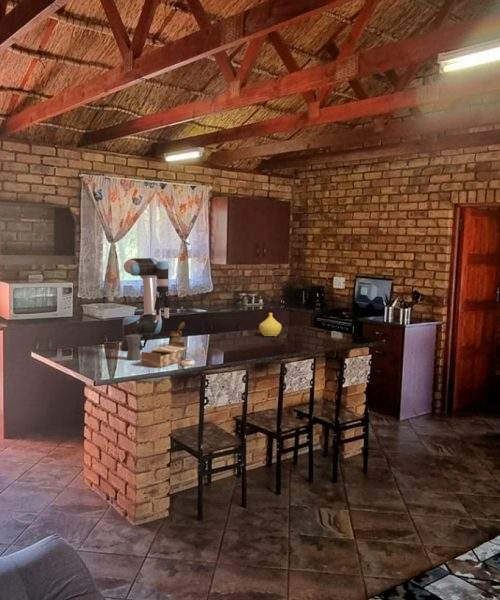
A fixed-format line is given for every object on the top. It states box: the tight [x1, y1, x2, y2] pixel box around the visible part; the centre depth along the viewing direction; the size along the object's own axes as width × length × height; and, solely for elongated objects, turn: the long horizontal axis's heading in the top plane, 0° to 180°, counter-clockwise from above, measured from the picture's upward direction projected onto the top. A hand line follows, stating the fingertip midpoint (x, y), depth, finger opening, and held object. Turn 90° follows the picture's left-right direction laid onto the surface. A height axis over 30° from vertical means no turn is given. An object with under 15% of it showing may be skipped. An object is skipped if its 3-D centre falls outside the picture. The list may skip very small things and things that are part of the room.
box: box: [140, 350, 181, 369], centre depth 341 cm, size 20×15×8 cm
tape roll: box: [180, 359, 196, 367], centre depth 340 cm, size 8×8×3 cm
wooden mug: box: [167, 321, 186, 346], centre depth 401 cm, size 9×14×18 cm, turn 134°
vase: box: [258, 312, 282, 337], centre depth 458 cm, size 18×18×19 cm
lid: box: [151, 341, 190, 353], centre depth 350 cm, size 19×14×4 cm
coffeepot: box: [124, 331, 149, 361], centre depth 354 cm, size 15×9×18 cm, turn 90°
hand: (162, 319), depth 355 cm, fingers open, 13 cm apart
